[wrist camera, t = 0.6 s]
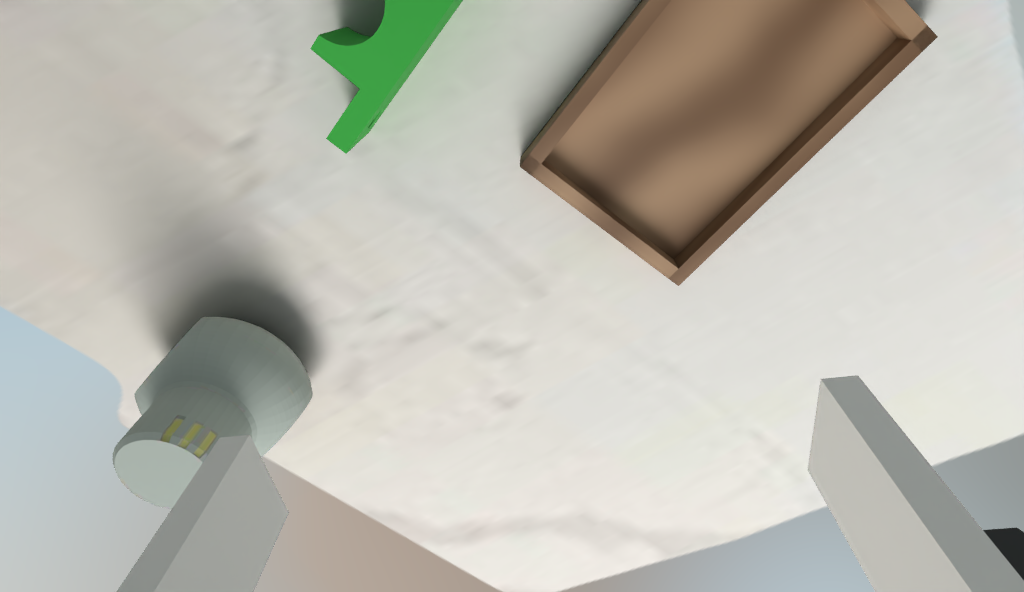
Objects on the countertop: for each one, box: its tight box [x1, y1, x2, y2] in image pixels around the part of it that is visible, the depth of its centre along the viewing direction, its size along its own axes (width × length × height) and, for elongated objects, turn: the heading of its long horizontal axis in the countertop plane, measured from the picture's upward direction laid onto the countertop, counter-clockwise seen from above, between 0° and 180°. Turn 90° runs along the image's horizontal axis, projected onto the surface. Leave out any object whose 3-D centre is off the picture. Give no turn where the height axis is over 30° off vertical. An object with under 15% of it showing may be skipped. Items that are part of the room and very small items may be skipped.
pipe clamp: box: [311, 0, 463, 153], centre depth 27 cm, size 11×4×5 cm, turn 140°
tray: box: [520, 0, 937, 286], centre depth 29 cm, size 12×17×2 cm
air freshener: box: [113, 317, 312, 509], centre depth 35 cm, size 11×8×10 cm
